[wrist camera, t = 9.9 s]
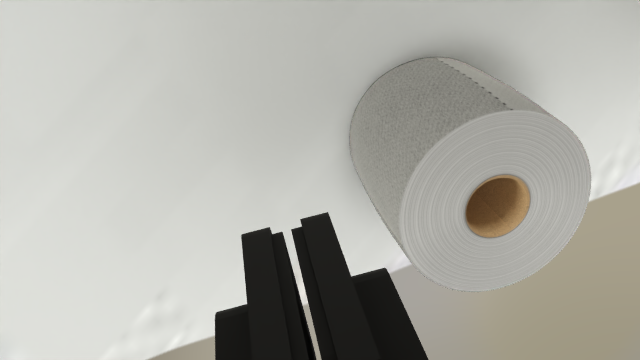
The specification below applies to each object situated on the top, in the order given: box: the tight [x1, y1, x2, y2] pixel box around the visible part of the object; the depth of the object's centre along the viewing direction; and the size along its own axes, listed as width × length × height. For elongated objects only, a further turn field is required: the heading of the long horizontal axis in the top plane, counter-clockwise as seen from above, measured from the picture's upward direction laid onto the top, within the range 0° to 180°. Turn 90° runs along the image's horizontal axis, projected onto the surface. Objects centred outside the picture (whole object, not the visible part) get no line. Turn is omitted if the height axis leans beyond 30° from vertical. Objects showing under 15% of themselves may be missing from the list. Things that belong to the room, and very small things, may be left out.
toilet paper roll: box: [349, 57, 591, 292], centre depth 39 cm, size 12×12×12 cm
